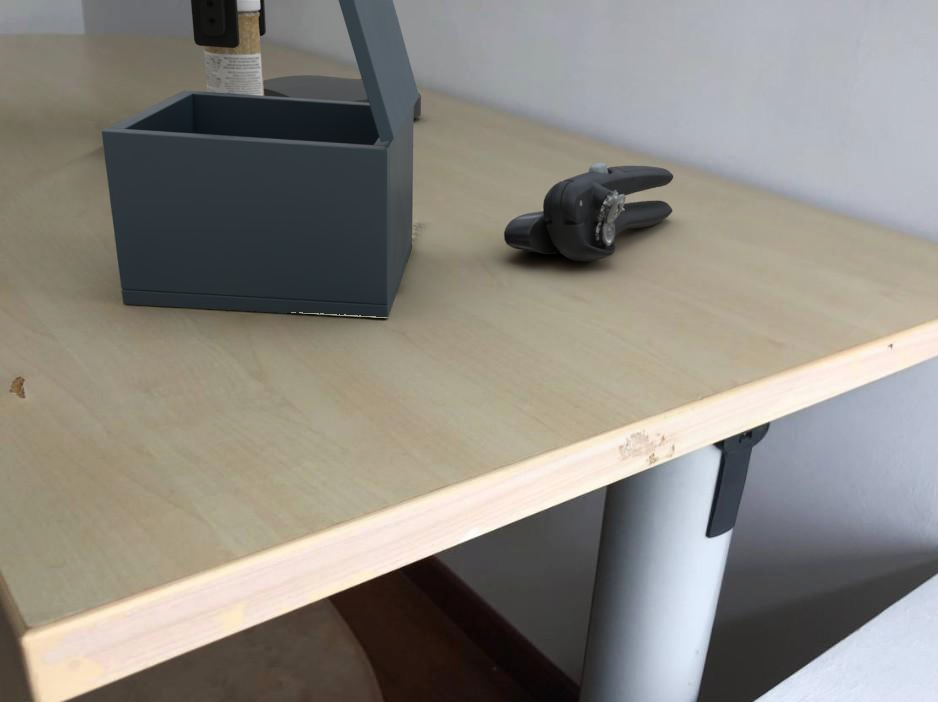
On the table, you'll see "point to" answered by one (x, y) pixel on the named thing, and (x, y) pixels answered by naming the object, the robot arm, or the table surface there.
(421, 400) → the table surface
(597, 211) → the can opener
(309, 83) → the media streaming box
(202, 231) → the bin
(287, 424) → the table surface
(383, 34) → the bin lid
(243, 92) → the sprinkles bottle
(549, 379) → the table surface
